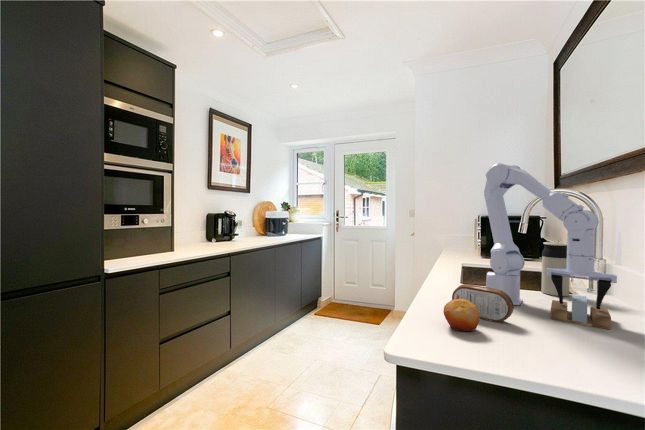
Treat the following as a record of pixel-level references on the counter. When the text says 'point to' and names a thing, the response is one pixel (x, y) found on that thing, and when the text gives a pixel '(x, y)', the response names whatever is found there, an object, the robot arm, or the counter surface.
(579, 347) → the counter surface
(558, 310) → the slot block
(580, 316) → the pale blue tapered bar
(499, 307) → the tin
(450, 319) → the fruit
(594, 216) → the robot arm
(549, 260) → the travel mug
